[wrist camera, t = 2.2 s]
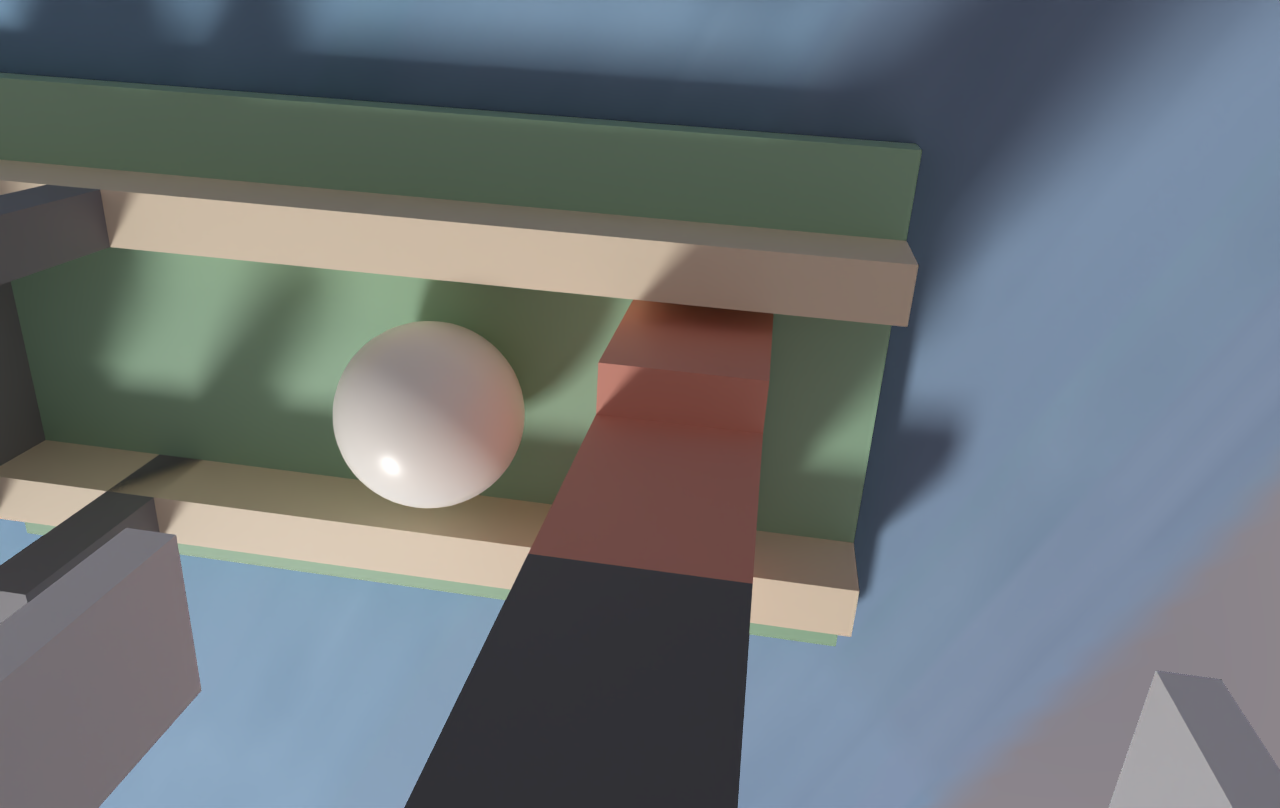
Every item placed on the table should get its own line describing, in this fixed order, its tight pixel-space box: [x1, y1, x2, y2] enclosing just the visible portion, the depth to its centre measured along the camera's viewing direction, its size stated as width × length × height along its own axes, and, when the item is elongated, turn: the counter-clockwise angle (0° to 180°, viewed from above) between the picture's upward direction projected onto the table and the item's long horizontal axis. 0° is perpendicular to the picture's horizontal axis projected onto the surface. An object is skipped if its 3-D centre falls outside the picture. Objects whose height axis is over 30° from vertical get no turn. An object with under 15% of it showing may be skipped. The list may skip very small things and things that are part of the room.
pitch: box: [0, 73, 922, 646], centre depth 19 cm, size 12×22×7 cm, turn 87°
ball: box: [333, 321, 525, 508], centre depth 20 cm, size 4×4×4 cm
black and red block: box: [404, 300, 773, 808], centre depth 14 cm, size 5×3×14 cm, turn 178°
